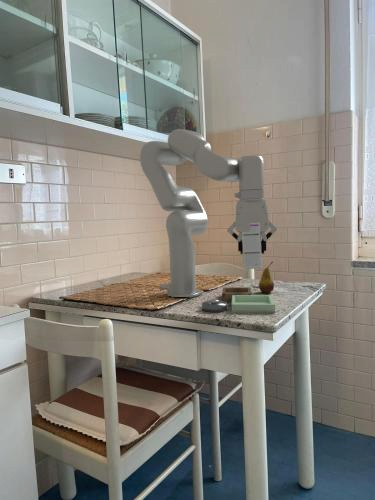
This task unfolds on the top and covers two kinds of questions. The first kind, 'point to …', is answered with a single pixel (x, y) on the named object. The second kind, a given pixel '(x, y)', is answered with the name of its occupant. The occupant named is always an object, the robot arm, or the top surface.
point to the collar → (234, 292)
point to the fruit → (266, 281)
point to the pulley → (214, 306)
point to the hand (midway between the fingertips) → (252, 253)
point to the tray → (253, 304)
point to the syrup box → (252, 247)
